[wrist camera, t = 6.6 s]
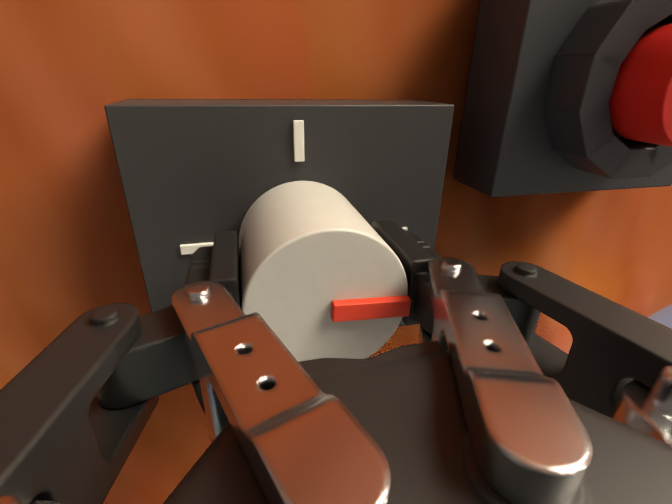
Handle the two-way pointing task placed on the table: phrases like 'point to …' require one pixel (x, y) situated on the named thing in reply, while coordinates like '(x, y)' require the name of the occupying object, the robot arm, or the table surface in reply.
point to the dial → (319, 273)
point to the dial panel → (269, 167)
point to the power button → (645, 90)
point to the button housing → (554, 98)
